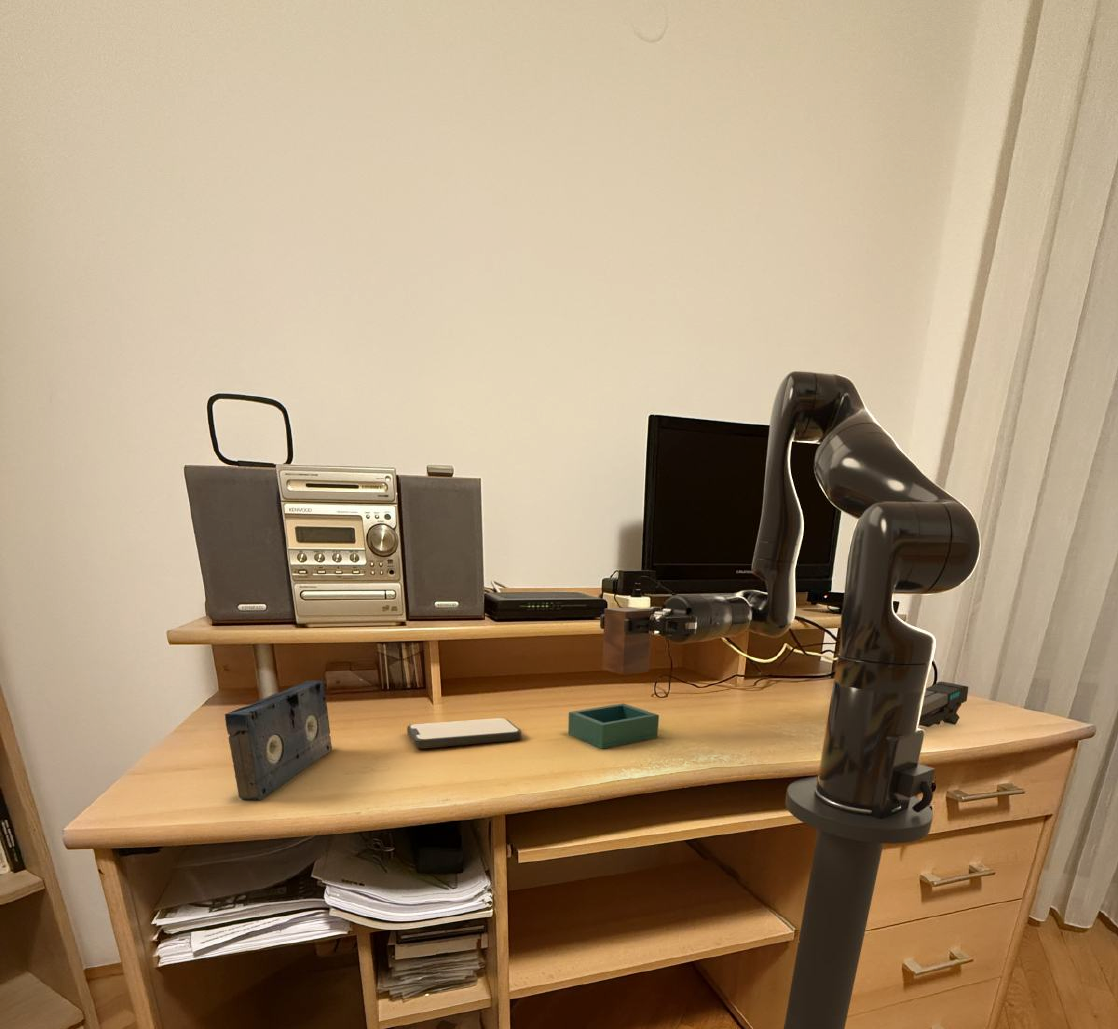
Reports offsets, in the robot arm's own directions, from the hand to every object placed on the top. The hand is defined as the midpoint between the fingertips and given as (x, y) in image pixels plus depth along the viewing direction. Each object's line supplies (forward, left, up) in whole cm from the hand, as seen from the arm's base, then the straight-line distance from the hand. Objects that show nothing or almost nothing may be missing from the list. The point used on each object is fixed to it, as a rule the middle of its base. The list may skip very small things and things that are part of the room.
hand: (614, 624), depth 85 cm
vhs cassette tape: (+9, +44, -17) cm, 48 cm away
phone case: (+11, +19, -17) cm, 28 cm away
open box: (0, -1, -17) cm, 17 cm away
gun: (-23, -47, -17) cm, 55 cm away
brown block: (0, -3, -7) cm, 7 cm away
